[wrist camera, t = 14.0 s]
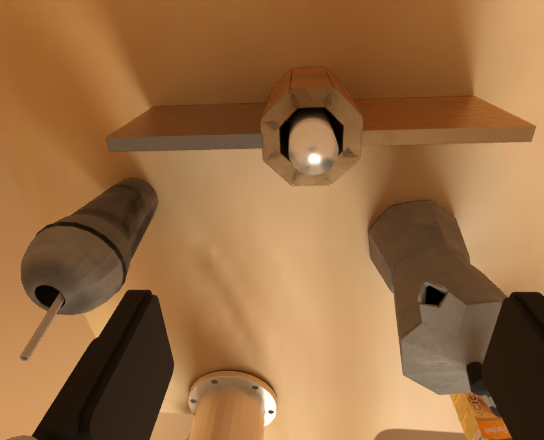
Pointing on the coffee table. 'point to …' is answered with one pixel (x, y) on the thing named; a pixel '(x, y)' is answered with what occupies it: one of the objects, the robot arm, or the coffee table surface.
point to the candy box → (478, 418)
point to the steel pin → (312, 141)
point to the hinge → (345, 122)
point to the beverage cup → (86, 253)
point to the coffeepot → (436, 298)
